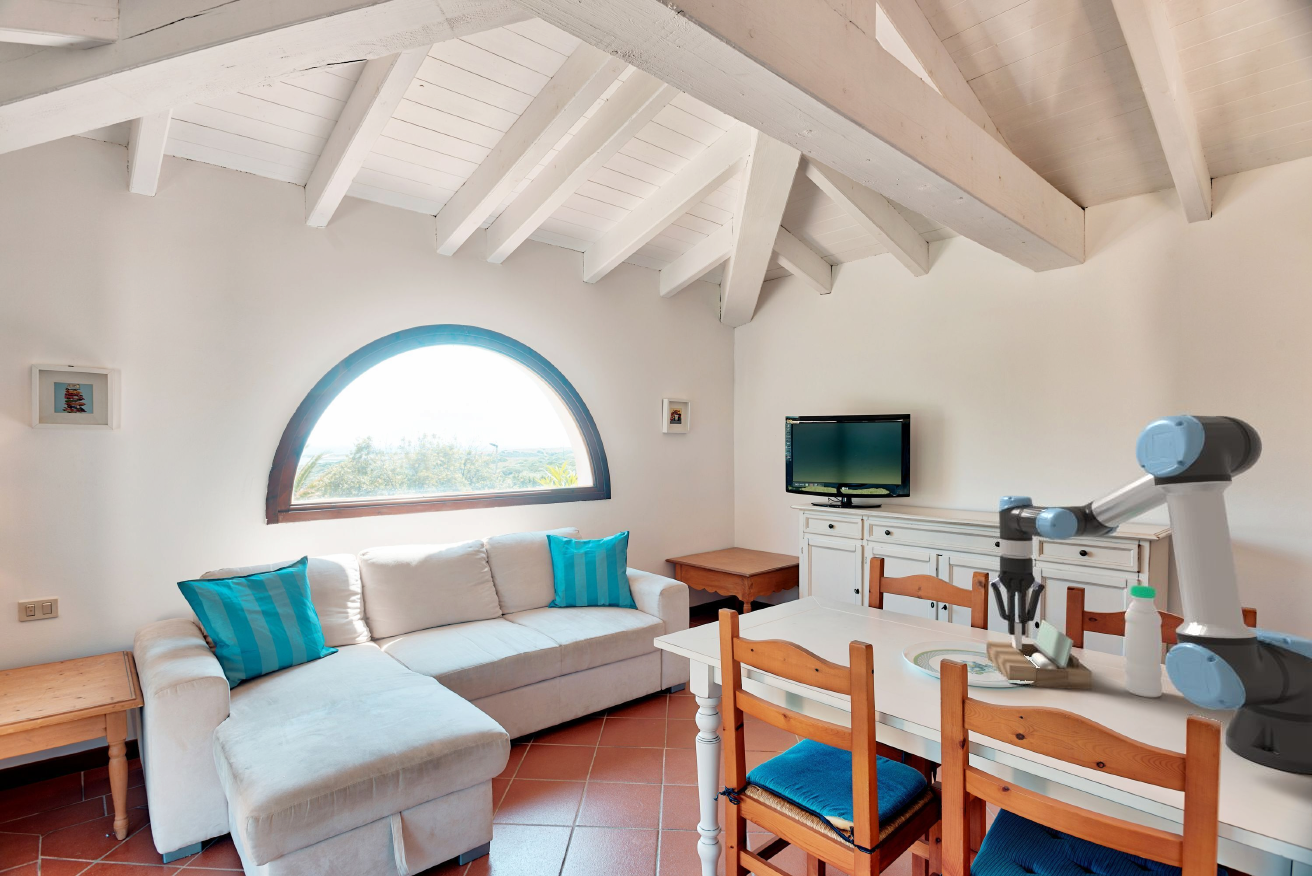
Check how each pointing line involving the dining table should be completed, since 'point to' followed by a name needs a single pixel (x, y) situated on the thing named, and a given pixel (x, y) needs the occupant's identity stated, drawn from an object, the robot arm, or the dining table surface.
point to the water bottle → (1143, 644)
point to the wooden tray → (1023, 669)
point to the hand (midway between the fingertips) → (1016, 647)
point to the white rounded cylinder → (1042, 661)
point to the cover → (1053, 644)
